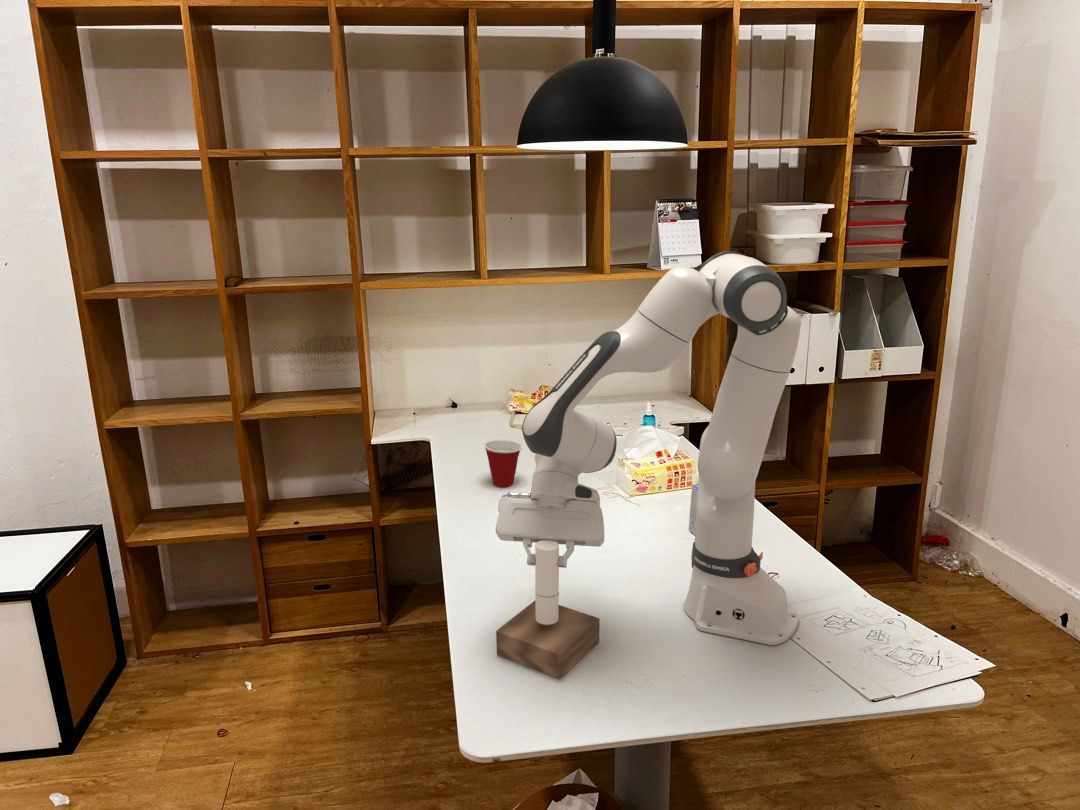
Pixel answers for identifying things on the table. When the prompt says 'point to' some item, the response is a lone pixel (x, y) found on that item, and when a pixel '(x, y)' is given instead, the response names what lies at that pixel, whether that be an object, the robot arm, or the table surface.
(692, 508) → the ink cartridge box
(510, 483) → the plastic cup
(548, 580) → the tube
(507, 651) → the walnut stand
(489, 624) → the table surface
